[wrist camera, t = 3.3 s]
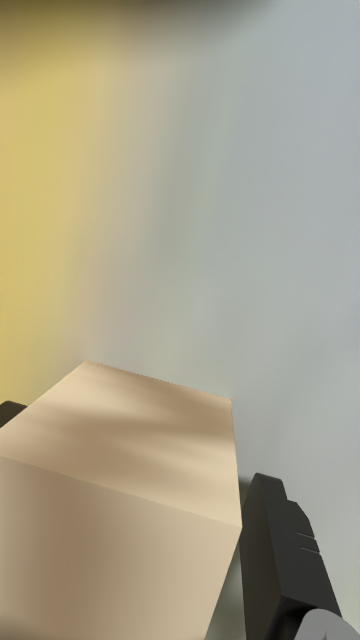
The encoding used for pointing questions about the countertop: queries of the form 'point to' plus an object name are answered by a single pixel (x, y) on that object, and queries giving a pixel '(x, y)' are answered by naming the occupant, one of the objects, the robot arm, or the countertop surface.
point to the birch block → (116, 510)
